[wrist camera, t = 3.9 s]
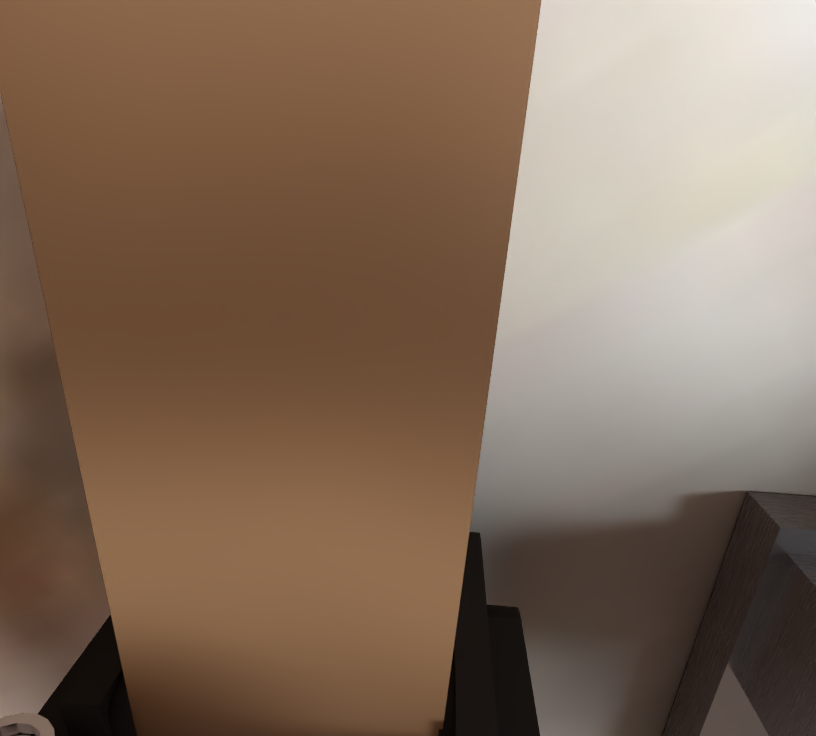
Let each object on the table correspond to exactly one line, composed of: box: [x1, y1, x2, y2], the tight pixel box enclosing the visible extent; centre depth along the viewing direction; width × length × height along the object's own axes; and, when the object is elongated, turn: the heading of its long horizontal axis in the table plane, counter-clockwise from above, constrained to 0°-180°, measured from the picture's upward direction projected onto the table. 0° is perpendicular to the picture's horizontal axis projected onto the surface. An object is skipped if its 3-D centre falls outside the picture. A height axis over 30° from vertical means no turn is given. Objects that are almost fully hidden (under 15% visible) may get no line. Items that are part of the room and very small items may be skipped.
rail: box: [0, 0, 541, 736], centre depth 9 cm, size 18×4×4 cm, turn 176°
